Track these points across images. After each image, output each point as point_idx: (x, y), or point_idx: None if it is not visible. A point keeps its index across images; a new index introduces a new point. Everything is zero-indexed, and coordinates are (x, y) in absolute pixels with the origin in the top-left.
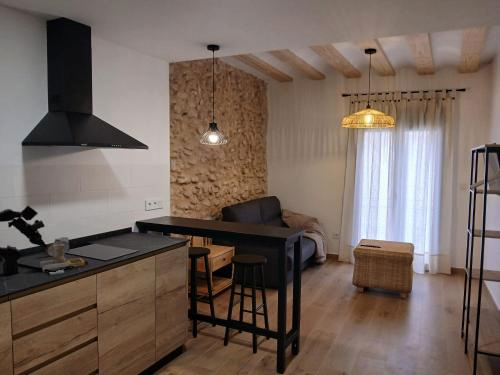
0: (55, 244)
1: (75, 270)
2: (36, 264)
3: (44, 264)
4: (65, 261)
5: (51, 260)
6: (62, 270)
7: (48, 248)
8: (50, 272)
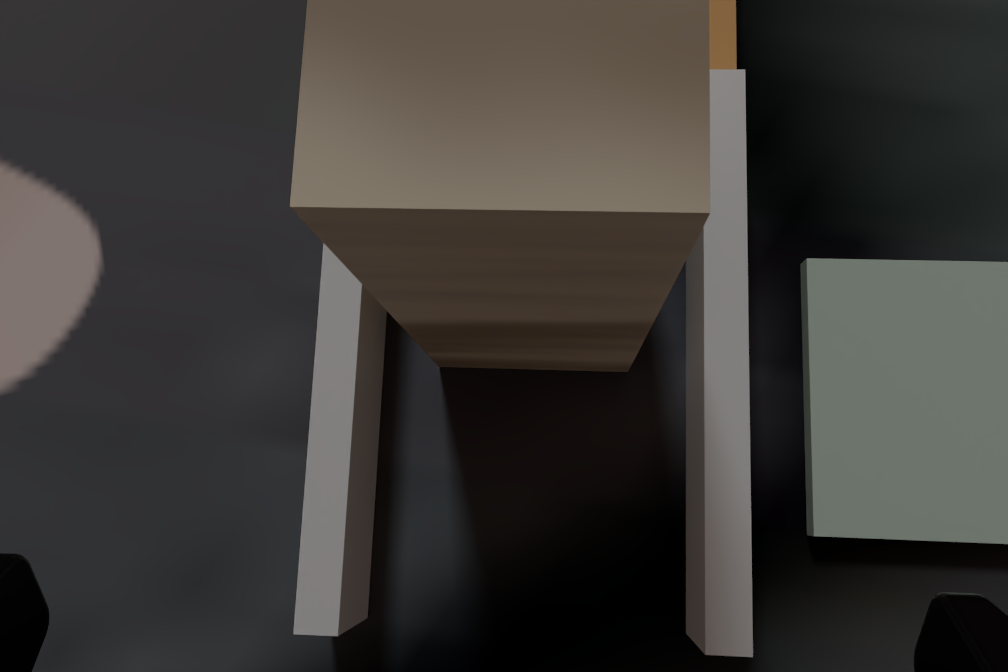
0: (342, 109)
1: (997, 55)
2: (73, 656)
3: (361, 541)
4: None
5: (323, 375)
6: (960, 277)
7: None
8: (989, 523)
